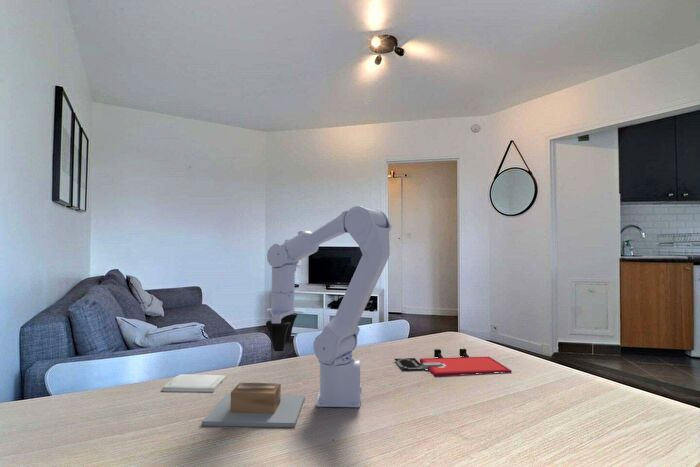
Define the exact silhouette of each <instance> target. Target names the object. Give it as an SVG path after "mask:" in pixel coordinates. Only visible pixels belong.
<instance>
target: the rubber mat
mask: <svg viewBox="0 0 700 467" xmlns="http://www.w3.org/2000/svg"><path fill="white" fill-rule="evenodd" d="M305 396H306V395H304V394H303V395H300V394H299V395H298V394H295V395H293V394H288V395H287V394H281V395H280V404H279V406H278V408H277V410H276V411H275V413H274V414H268V413H232V412H230V405H231V393H228V394H227V393H225V394H224V396H223V397H222V398H221V399H220V400H219V401H218V402H217V404H216V405H215V406H214V407H213V408H212V409H211V410H210V412H208V413H207V415H206V416H205V417H204V418H203V419H202V421H201V426H208V427H212V426H213V427H214V426H216V427H261V428H262V427H263V428H264V427H265V428H266V427H268V428H269V427H270V428H271V427H272V428H273V427H274V428H296V427H297V426H296V425H297V423H298V420H299V417H300V413H301V411H302V409H303V408H302V407H303V405H304V402H305Z"/></svg>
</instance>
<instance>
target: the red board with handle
mask: <svg viewBox="0 0 700 467" xmlns="http://www.w3.org/2000/svg"><path fill="white" fill-rule="evenodd" d="M433 352H434V353H433V357H438V358H433V357H429V358H419V361H418V360H417V359H416V358H415V357H411V358H410V357H406V358H405V357H404V358H403V357H401V358H394V361H395V362H396V363H397V365H398V366H399V367H400V369H401V370H420V369H421V370H424V369H428V370H429V371H430V372H431V373H432V374H433V375H434V376H436V377H445V376H444V375H456V376H461V375H460V374H476V373H494V372H512V370H511V369H510V368H508V367H507V366H506V365H504V364H502V363H500V362H499V361H497V360H495V359H494V358H492V357H490V356H469V355H468V353H467V349H466V348H459V354H458V355H460V356H464V357H443V355H442V349H440V348H439V349H438V348H436V349H434V350H433ZM420 362H421V363H422V364H421V363H420ZM428 370H427V371H428ZM429 371H428V372H429ZM430 372H429V373H430ZM431 373H430V374H431ZM432 374H431V375H432ZM433 375H432V376H433ZM476 375H477V374H476ZM434 376H433V377H434Z"/></svg>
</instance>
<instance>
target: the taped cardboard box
mask: <svg viewBox="0 0 700 467" xmlns="http://www.w3.org/2000/svg"><path fill="white" fill-rule="evenodd" d="M281 385H282V384H281V383H279V382H277V383H271V382H269V383H268V382H266V383H265V382H239V383H238V384H237V385H236V386H234V388H233V390H231V391H230V394H231V405H230V412H232V413H268V414H274V413H275V411H276V410H277V408H278V406H279V404H280V395H282V394H281V389H282V388H281V387H282V386H281Z"/></svg>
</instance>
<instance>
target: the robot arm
mask: <svg viewBox="0 0 700 467" xmlns="http://www.w3.org/2000/svg"><path fill="white" fill-rule="evenodd" d="M391 230H392V225H391V222H390V220H389V218H388V216H387V215H386V213H385V212H384V211H382V210H380V209H372V208H368V207H364V206H361V205H355V206H353V207H350V208H349V210H344V211H342V212H341V213H340V214H339V215H338V216H336V217H335V218H334V219H331V221H328V222H327V223H326V224H324V225H322V226H320V227H318V229H315V230H314V231H313V232H312V231H310V230H299V231H297V235H295V236H293V237H292V238H290V239H289V238H287V239H285V240H284V242H283V243H282V244H280V243H274V244H272V245H271V246H270V247H269V248H268V250H267V254H266V259H267V263H268V264H269V265H270V266H271V297H270V298H271V302H270V304H271V307H270V308H267V309H266V313H270V314H271V320H267V321H266V322H265V326H266V329H268V332H269V335H270V337H271V343H272V348H273V351H274V352H284V349H285V345H286V343H290V342H291V338H292V334H293V326H294V324H295V321H296V318H297V317H298V313H296V309H295V283H296V281H295V280H296V278H295V276H296V275H295V273H296V271H297V265H298V263H299V262H300V261H301V260H303V259H305V258H307V257H309V256H311V255H313V254H315V253H317V252H318V251H319V247H320V245H322V244H324V243H326V242H329V241H331V240H333V239H335V238H337V237H339V236H342V235H344V234H346V233H347V234H349V235H350V236H351V237H352V240H354V241H355V243H356V244H357V245H358V247H359V249H360V252H361V254H362V256H360V260H359V262H358V264H357V267H356V269H355V271H354V273H353V276H352V277H351V280H350V282H349V284H348V286H347V289H346V291H345V293H344V295H343V298H342V300H341V302H340V304H339V306H338V308H337V310H336V313H335V315H334V317H333V318H332V319H331V320H330V321H329V322H328V323H326V324H325V326H324V327H323V330H322V332H321V333H319V334H318V335H317V336H316V337H315V338H314V341H313V352H314V355H315V357H316V358H317V359H318V363H319V391H318V395H317V398H316V402H315V406H316V407H318V408H320V407H322V408H323V407H324V408H326V407H327V408H330V407H331V408H360V407H361V395H362V388H363V387H362V384H361V360H360V359H355V358H353V351H355V349H356V347H357V345H358V337H359V336H358V335H359V333H360V331H361V330H360V327H359V322H360V320H361V317H362V315H363V313H364V311H365V309H366V307H367V305H368V302H369V300H370V298H371V296H372V295H373V292H374V289H375V288H376V286H377V283H378V281H379V279H380V277H381V276H382V273H383V270H384V269H385V267H386V264H387V262H388V259H389V258H390V255H391V254H390V252H391V249H390V248H391V247H390V231H391Z"/></svg>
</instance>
